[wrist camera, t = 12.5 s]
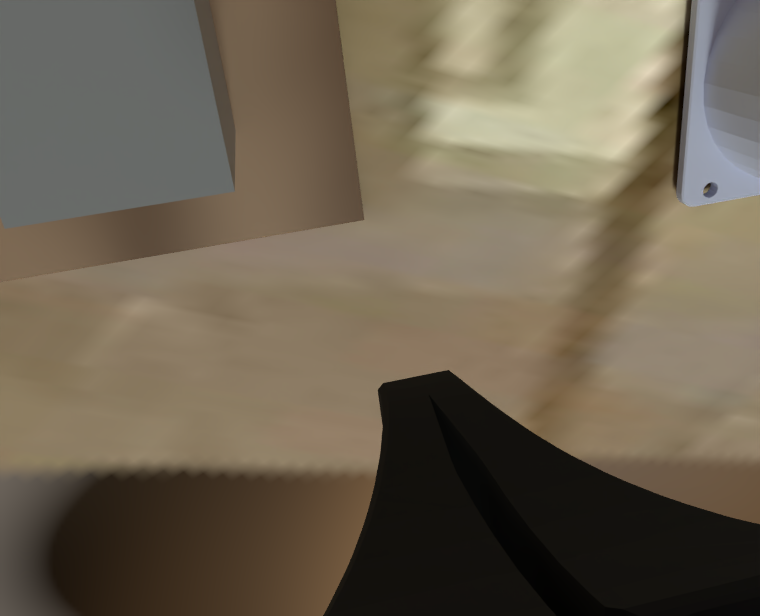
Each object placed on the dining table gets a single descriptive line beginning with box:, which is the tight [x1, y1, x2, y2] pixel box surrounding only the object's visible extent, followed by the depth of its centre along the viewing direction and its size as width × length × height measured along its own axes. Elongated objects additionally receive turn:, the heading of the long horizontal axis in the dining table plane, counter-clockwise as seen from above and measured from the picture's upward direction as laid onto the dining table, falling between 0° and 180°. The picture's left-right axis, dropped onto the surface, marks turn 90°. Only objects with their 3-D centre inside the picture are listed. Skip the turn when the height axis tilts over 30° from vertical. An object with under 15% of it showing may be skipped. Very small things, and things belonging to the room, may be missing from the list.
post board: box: [0, 0, 364, 282], centre depth 16 cm, size 11×11×6 cm
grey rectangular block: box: [0, 0, 236, 229], centre depth 16 cm, size 4×4×6 cm
